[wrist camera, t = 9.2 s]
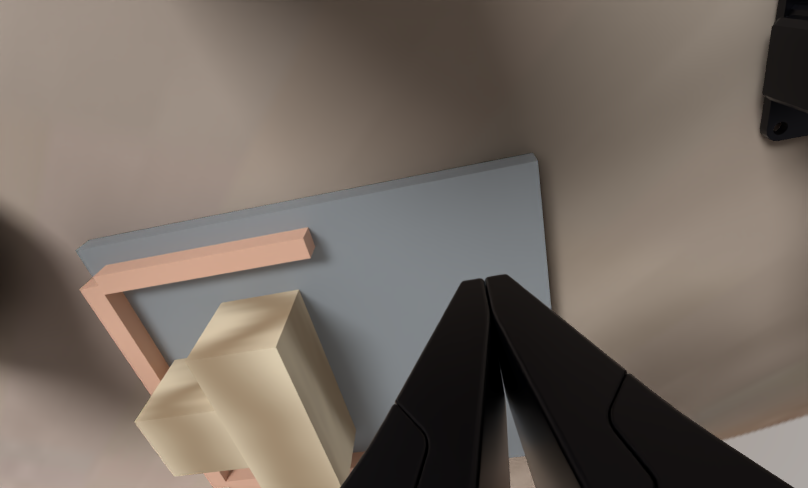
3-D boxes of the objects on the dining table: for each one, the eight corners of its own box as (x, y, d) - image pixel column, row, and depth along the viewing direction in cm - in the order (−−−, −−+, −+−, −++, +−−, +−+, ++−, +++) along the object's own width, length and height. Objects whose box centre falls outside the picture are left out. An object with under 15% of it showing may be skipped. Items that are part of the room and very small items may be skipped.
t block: (298, 289, 22) (275, 347, 19) (356, 430, 27) (346, 496, 24) (147, 315, 23) (99, 374, 20) (227, 446, 28) (200, 511, 25)
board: (532, 152, 20) (543, 169, 18) (559, 437, 28) (568, 467, 26) (88, 240, 23) (60, 262, 21) (234, 473, 31) (223, 503, 29)
